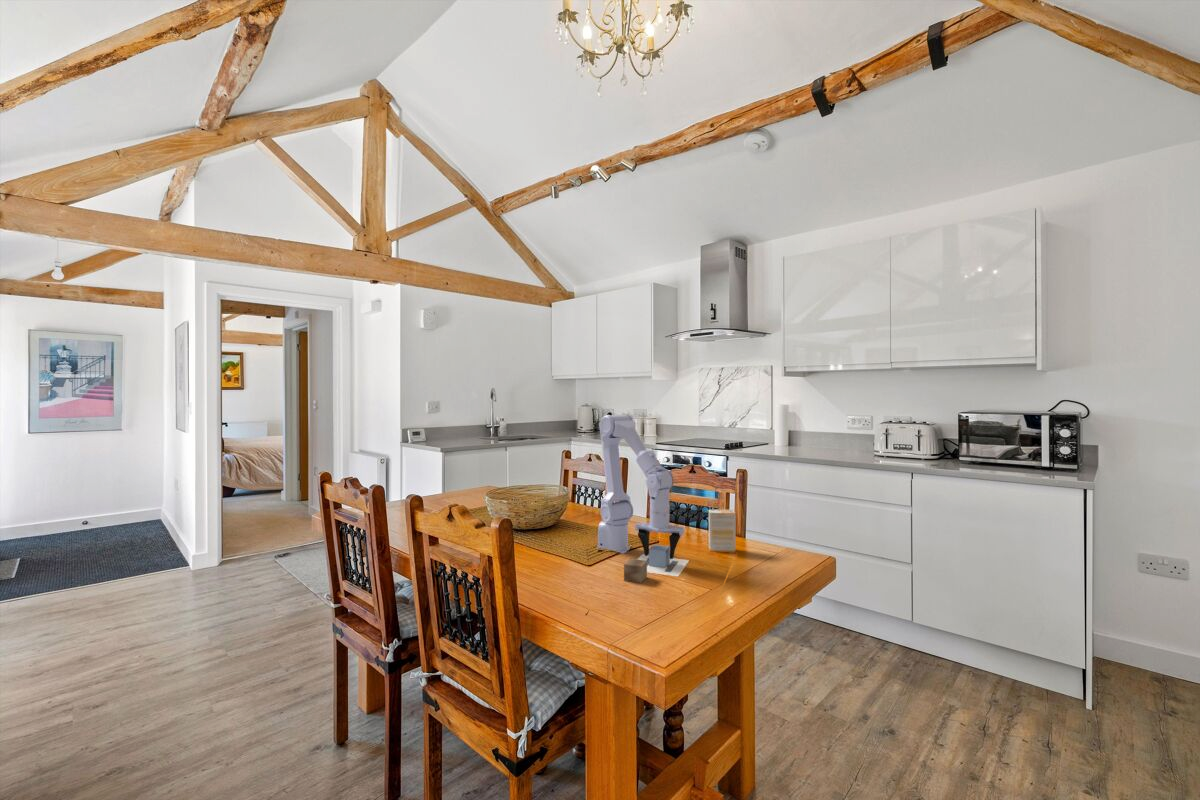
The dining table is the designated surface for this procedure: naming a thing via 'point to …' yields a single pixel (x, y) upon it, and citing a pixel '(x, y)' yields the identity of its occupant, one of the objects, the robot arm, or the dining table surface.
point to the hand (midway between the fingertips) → (659, 556)
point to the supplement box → (722, 530)
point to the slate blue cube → (659, 556)
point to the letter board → (672, 568)
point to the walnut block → (635, 570)
